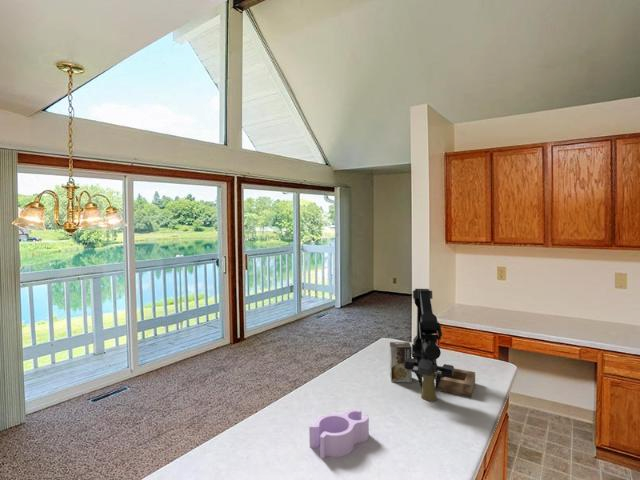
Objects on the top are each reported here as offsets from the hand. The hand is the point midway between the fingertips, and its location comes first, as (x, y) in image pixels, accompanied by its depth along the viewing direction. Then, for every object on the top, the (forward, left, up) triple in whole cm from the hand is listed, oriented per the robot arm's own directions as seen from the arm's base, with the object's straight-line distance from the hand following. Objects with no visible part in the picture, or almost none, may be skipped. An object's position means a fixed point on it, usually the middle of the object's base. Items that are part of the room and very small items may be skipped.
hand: (428, 387), depth 150 cm
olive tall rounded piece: (0, 0, -4) cm, 4 cm away
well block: (+8, +15, -4) cm, 17 cm away
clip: (-19, -43, -4) cm, 47 cm away
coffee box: (-15, +11, -4) cm, 19 cm away
